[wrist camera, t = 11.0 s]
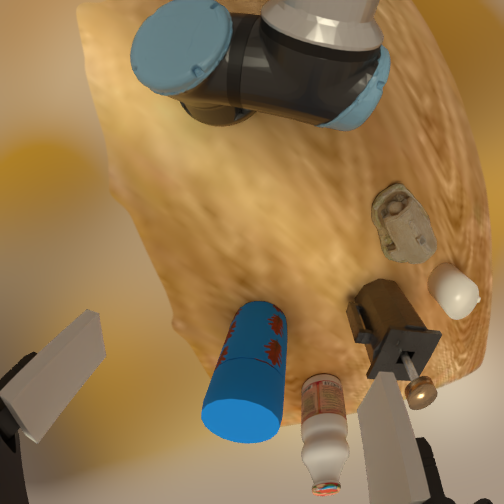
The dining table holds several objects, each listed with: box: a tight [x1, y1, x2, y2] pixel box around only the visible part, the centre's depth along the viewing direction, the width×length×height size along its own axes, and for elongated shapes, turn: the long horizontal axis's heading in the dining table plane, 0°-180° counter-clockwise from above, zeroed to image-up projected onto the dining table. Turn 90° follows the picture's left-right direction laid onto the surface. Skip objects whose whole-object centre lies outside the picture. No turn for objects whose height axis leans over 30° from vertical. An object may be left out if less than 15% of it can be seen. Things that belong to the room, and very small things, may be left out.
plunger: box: [400, 351, 437, 410], centre depth 35 cm, size 8×8×18 cm
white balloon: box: [427, 263, 481, 320], centre depth 44 cm, size 8×10×9 cm
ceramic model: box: [372, 184, 437, 264], centre depth 41 cm, size 14×11×10 cm
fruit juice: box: [301, 374, 349, 496], centre depth 47 cm, size 9×9×28 cm
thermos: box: [201, 301, 287, 443], centre depth 44 cm, size 11×11×25 cm
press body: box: [346, 279, 442, 381], centre depth 43 cm, size 10×13×17 cm
